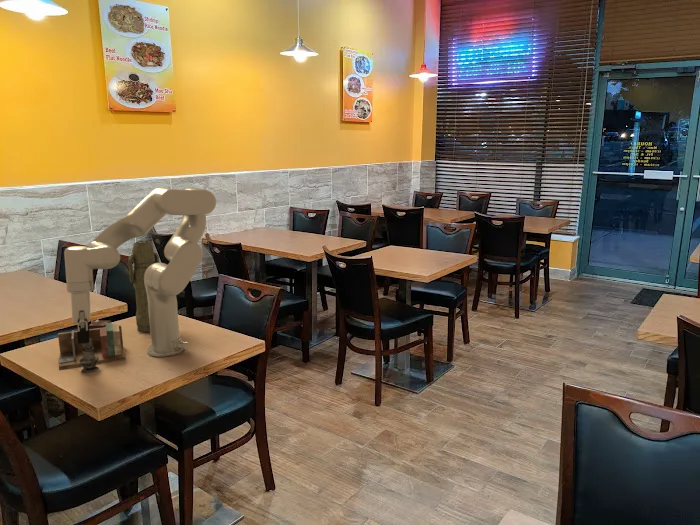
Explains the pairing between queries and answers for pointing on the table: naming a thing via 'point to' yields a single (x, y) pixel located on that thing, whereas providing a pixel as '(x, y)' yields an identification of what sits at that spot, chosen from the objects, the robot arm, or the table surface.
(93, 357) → the dark grey chess piece
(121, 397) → the table surface
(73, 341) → the bookend
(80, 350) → the shelf
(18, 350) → the table surface
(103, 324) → the box
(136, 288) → the robed figure statue
